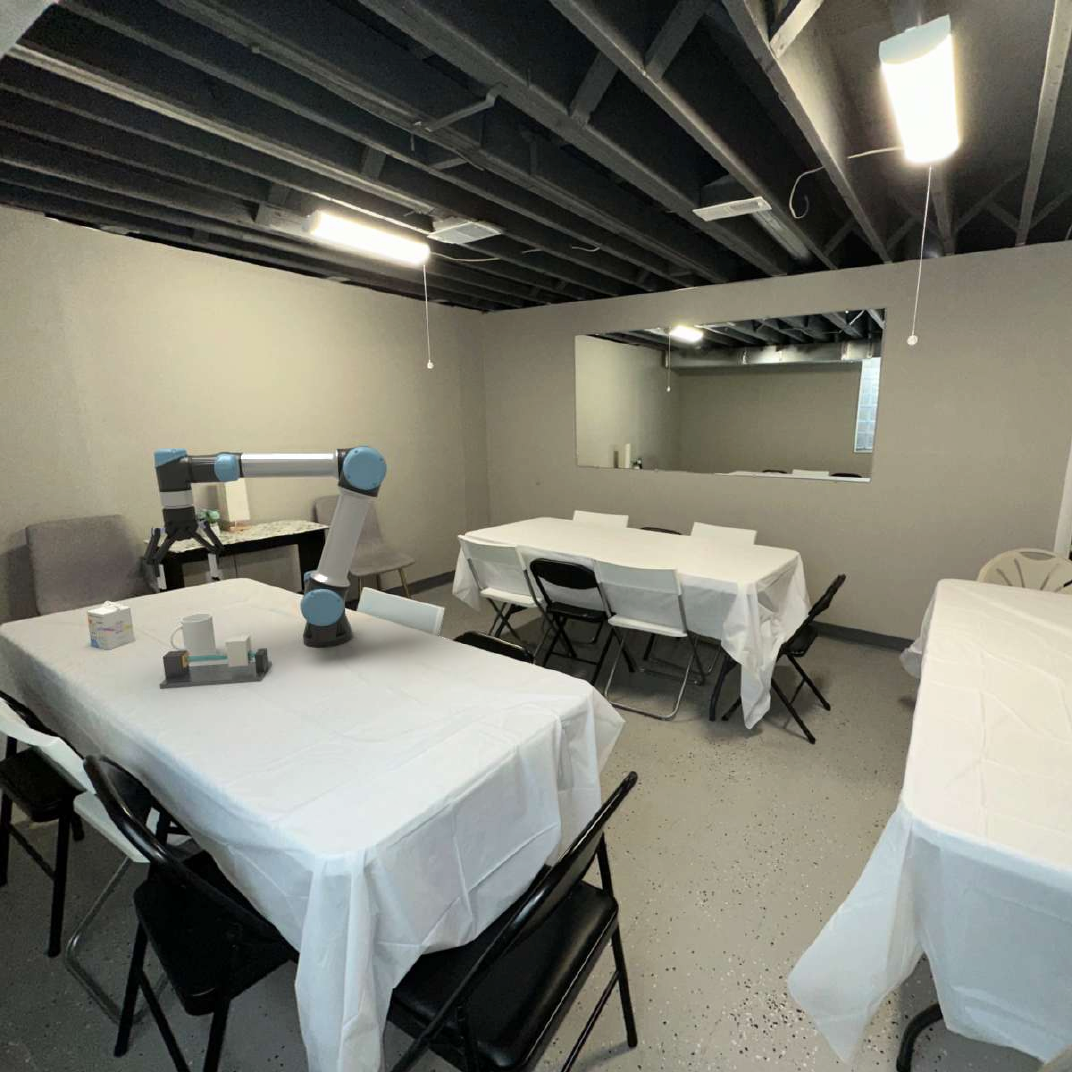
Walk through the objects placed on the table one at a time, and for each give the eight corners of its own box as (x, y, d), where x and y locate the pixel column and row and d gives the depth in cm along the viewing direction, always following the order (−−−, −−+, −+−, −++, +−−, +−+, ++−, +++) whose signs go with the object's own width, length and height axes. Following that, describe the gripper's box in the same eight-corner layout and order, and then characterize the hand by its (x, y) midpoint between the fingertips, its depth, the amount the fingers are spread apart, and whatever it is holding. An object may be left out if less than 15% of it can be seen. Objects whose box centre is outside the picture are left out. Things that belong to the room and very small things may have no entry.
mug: (176, 666, 164) (171, 627, 162) (168, 658, 170) (163, 620, 168) (221, 655, 172) (216, 617, 170) (212, 647, 178) (207, 610, 176)
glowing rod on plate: (272, 664, 165) (269, 640, 164) (260, 681, 154) (258, 655, 153) (178, 671, 161) (175, 646, 159) (160, 688, 150) (156, 662, 149)
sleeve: (252, 659, 160) (250, 635, 159) (247, 665, 156) (245, 640, 155) (233, 660, 160) (230, 636, 158) (228, 666, 156) (225, 641, 154)
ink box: (90, 646, 179) (84, 605, 177) (118, 637, 187) (112, 598, 184) (108, 650, 176) (102, 609, 173) (135, 641, 184) (130, 601, 181)
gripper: (218, 499, 165) (227, 570, 169) (118, 512, 145) (132, 591, 149) (231, 501, 161) (241, 573, 165) (131, 514, 141) (145, 595, 145)
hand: (189, 582), depth 157 cm, fingers open, 13 cm apart
